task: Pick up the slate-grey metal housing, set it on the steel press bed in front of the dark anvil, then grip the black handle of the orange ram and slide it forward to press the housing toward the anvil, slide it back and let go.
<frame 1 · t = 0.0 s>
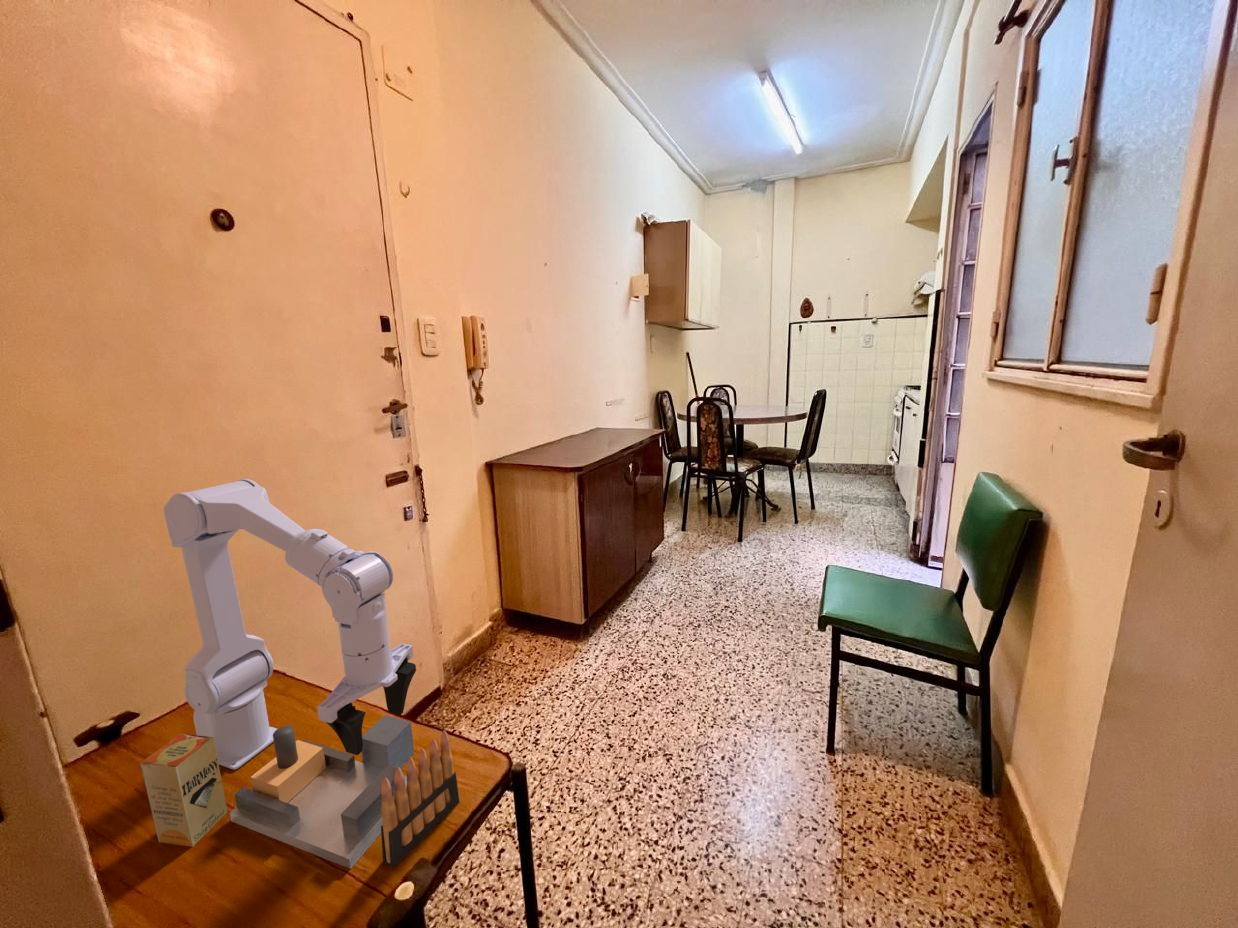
hand: (376, 731, 68), 10 cm above the table, fingers open, 7 cm apart
shoe polish box: (194, 827, 64), on the table
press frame: (328, 804, 68), on the table
ammunition clip: (423, 830, 64), on the table
ram: (287, 757, 68), point 6 cm above the table, slide at 0.0 cm
housing: (389, 762, 75), on the table
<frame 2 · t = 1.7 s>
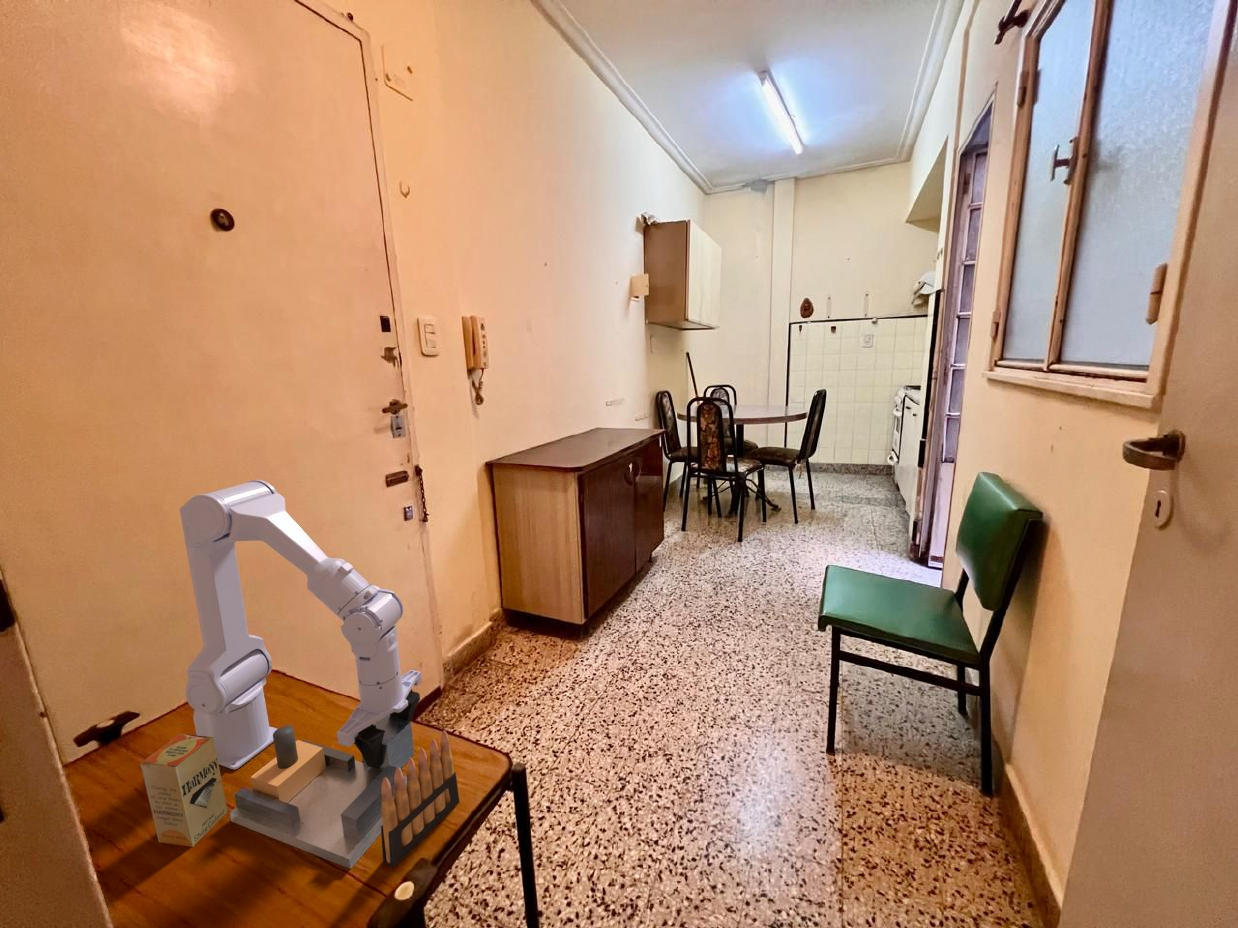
hand: (388, 751, 74), 2 cm above the table, fingers closed on housing, 5 cm apart
housing: (389, 762, 75), on the table, touching gripper
everything else where it was.
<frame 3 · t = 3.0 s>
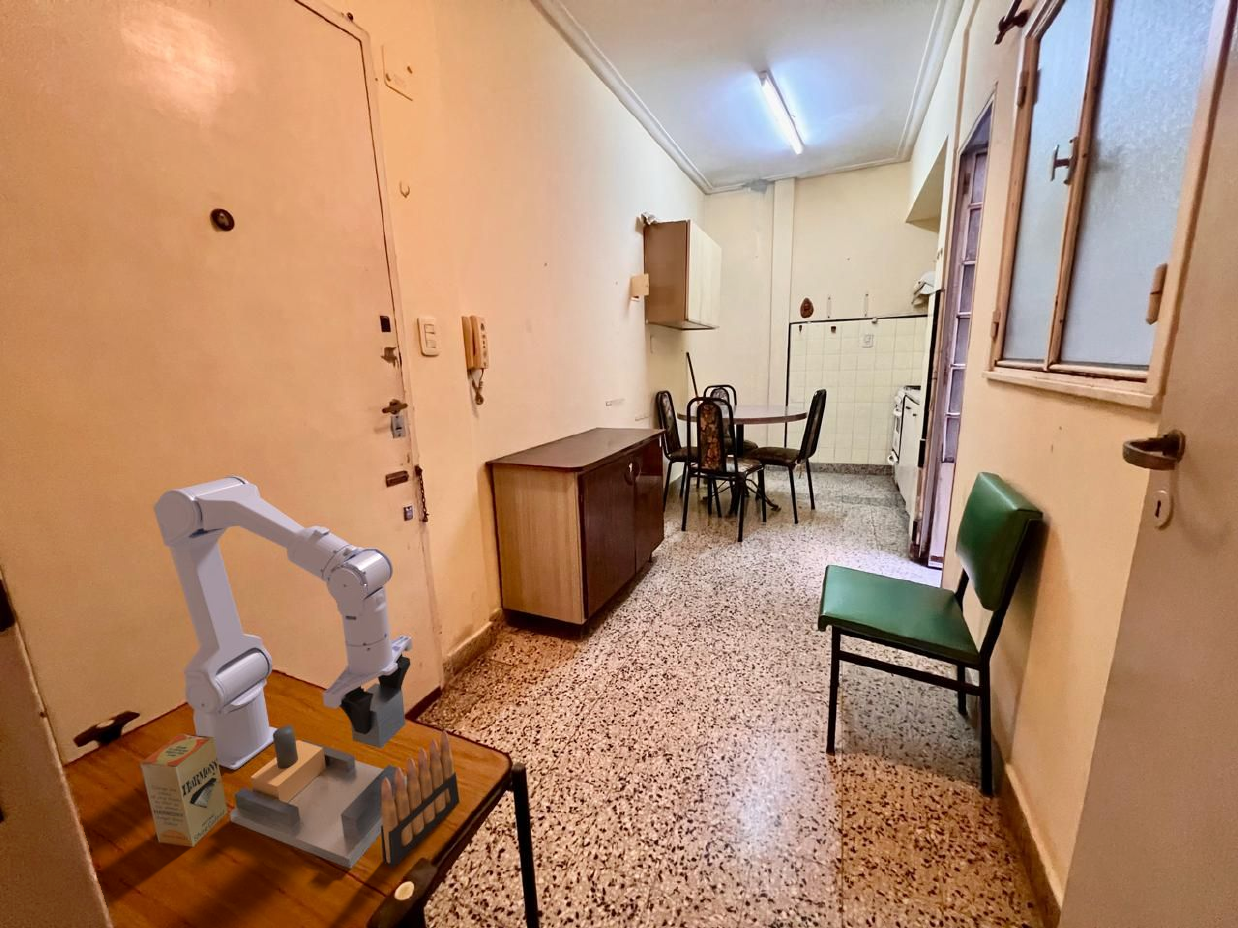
hand: (377, 717, 72), 9 cm above the table, fingers closed on housing, 5 cm apart
housing: (379, 732, 72), point 7 cm above the table, touching gripper
everything else where it was.
when the fingers open (5 cm above the table, at t = 4.7 s): housing stays where it is, resting on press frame.
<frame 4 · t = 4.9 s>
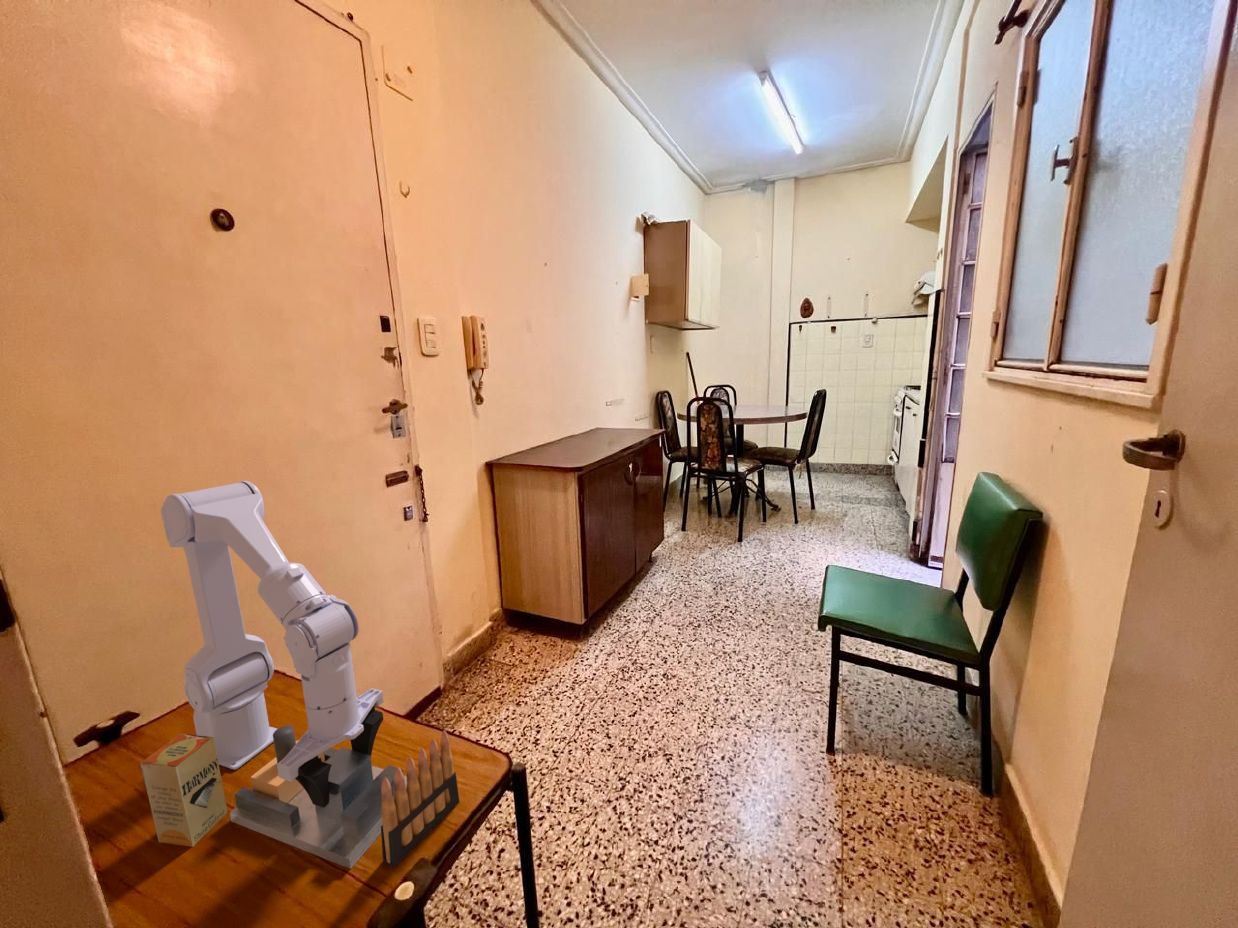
hand: (342, 782, 66), 5 cm above the table, fingers open, 6 cm apart
housing: (346, 801, 66), point 1 cm above the table, touching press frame
everything else where it was.
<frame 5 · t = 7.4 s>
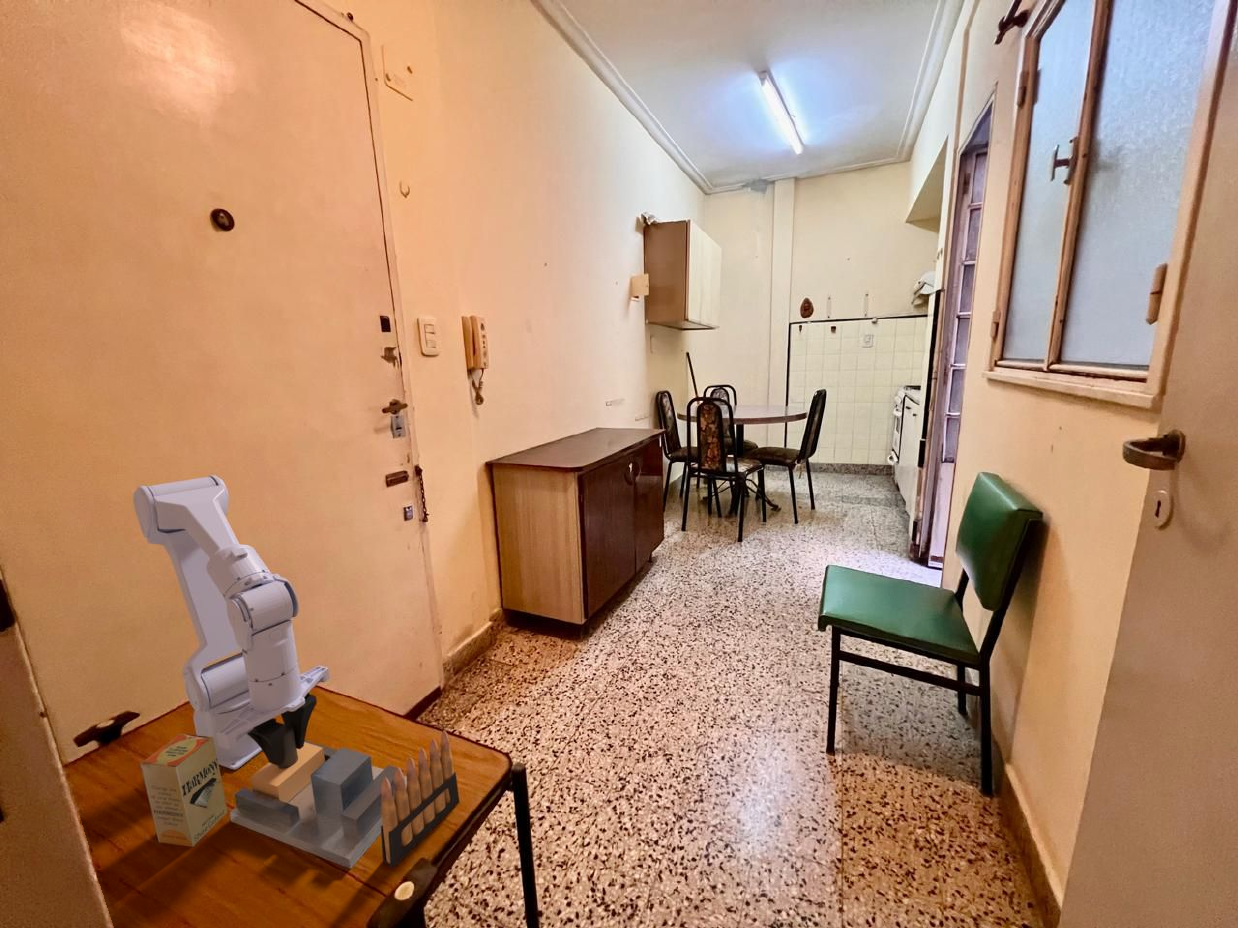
hand: (286, 753, 68), 6 cm above the table, fingers closed on ram, 2 cm apart
ram: (287, 757, 68), point 6 cm above the table, slide at 0.0 cm, touching gripper
everything else where it was.
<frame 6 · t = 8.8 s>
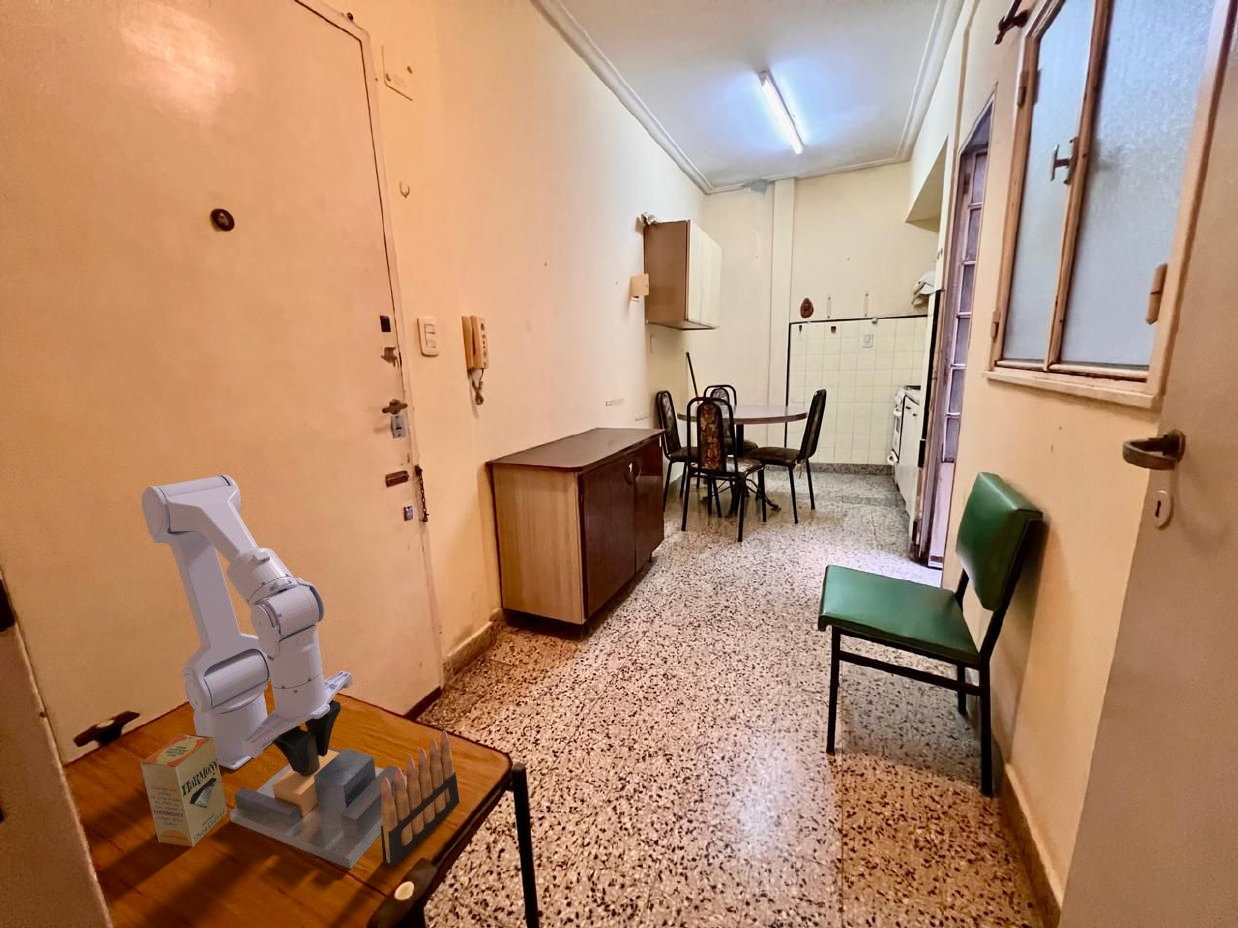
hand: (310, 761, 67), 6 cm above the table, fingers closed on ram, 2 cm apart
ram: (309, 764, 67), point 6 cm above the table, slide at 4.1 cm, touching gripper, housing
housing: (349, 802, 66), point 2 cm above the table, touching ram
everything else where it was.
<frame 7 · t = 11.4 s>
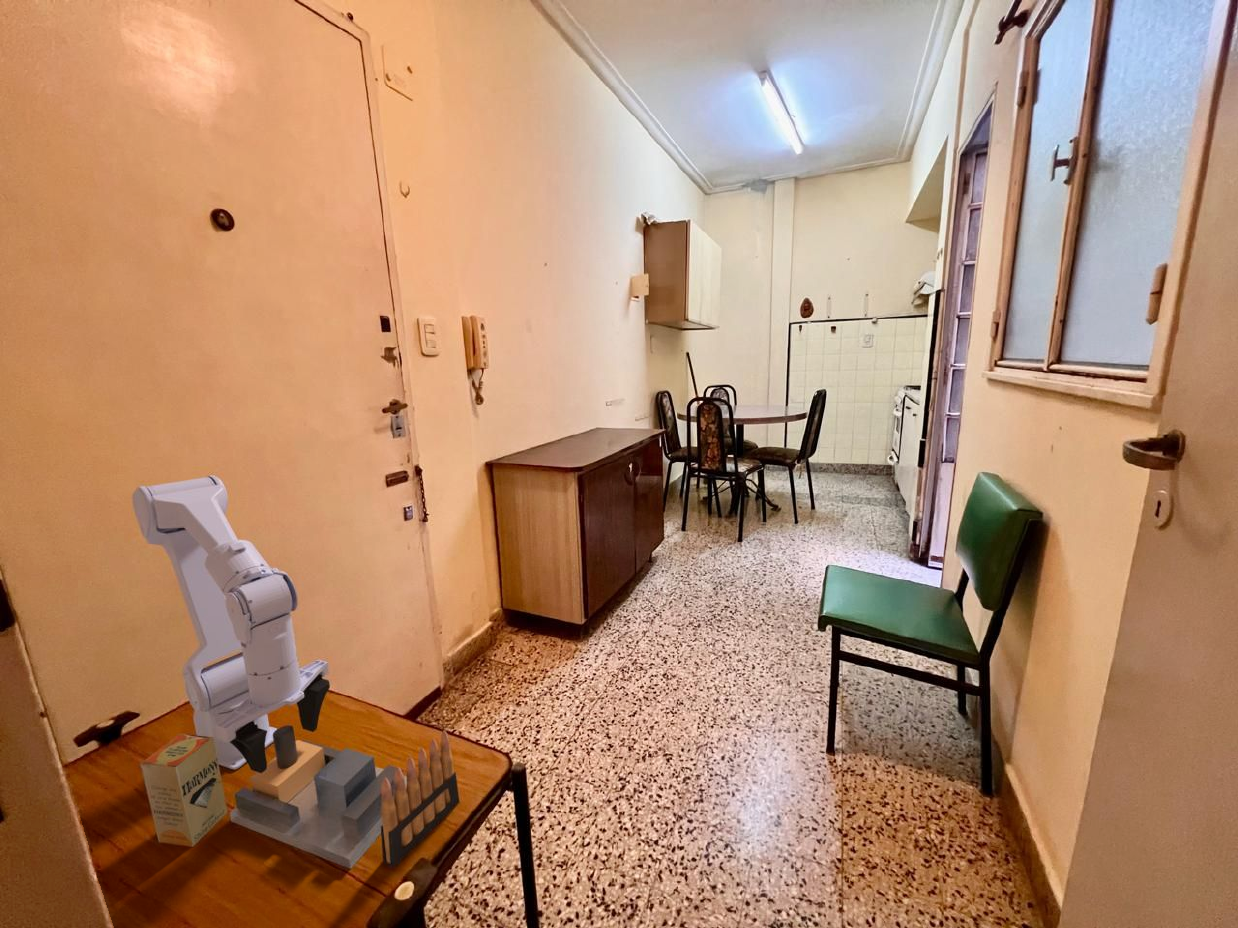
hand: (285, 748, 68), 7 cm above the table, fingers open, 7 cm apart
ram: (287, 757, 68), point 6 cm above the table, slide at 0.0 cm
housing: (349, 803, 66), point 1 cm above the table, touching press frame
everything else where it was.
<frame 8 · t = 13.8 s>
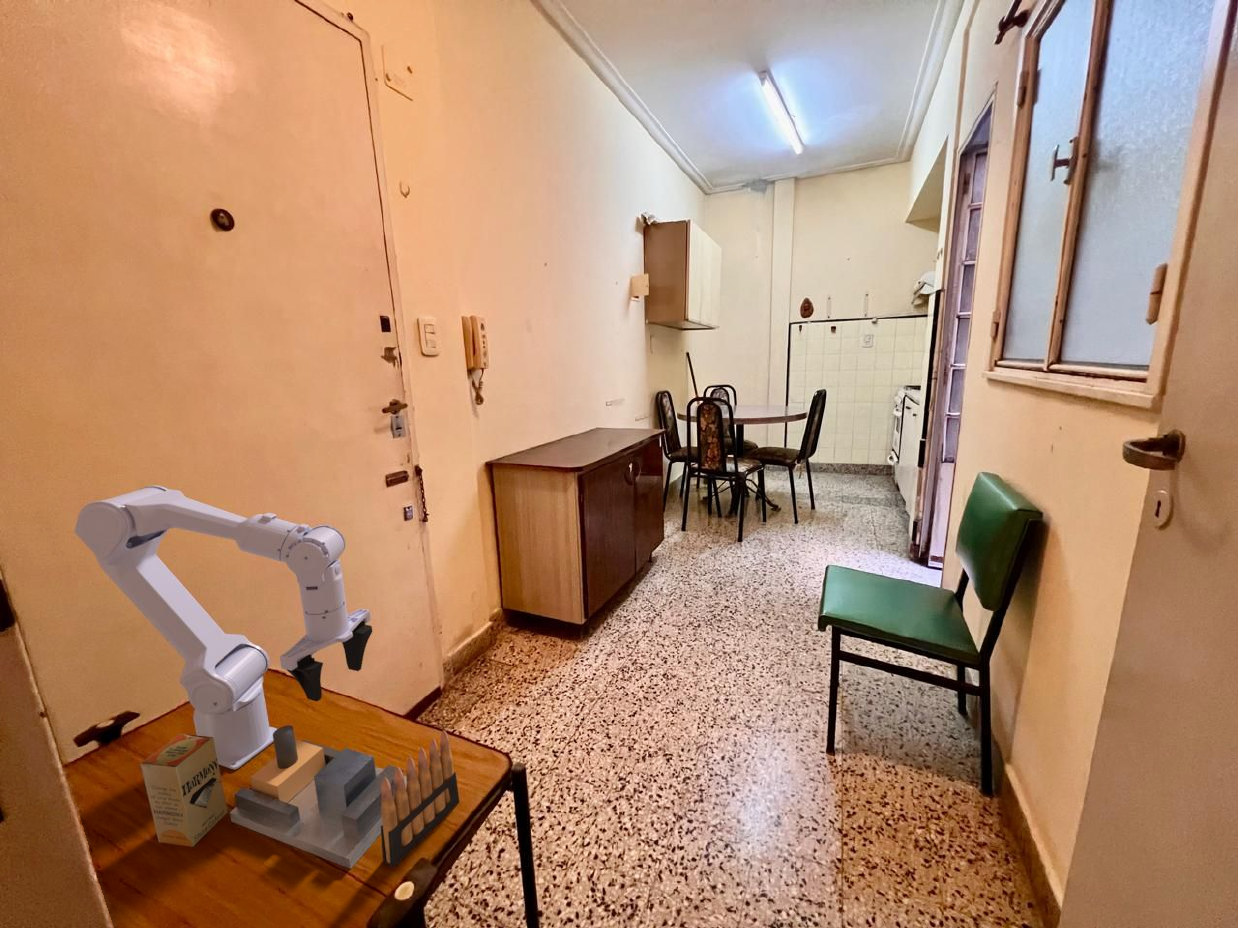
hand: (335, 683, 77), 10 cm above the table, fingers open, 7 cm apart
nothing on the table moved.
at the end: housing 0.5 cm from the target spot, point 1.5 cm above the table; housing tilted 0°; ram slide at 0.0 cm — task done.
